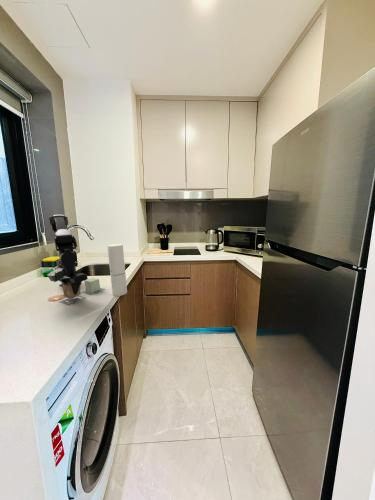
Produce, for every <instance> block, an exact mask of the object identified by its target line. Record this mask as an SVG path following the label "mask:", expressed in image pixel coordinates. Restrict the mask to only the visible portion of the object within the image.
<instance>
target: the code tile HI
mask: <svg viewBox="0 0 375 500" xmlns="http://www.w3.org/2000/svg"><path fill="white" fill-rule="evenodd" d="M105 290H106V289H105V288H101V287H100V290H99V291H96V292H94V293H89V292H86V289H85V290H83V291H80V293H81V294H85V295H89V296H92V295H94V294H98V293H100V292H103V291H105Z"/></svg>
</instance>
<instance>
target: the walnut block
mask: <svg viewBox="0 0 375 500" xmlns="http://www.w3.org/2000/svg"><path fill="white" fill-rule="evenodd" d="M80 287H81V286H80ZM80 287H79V290H78V292H77V294H76V295H74V293H73V289H72V286H71V284H69V283H66V284H63V287H62V290H63V295H64V297H66V299H67V298H70V299H71V298H73V297H76V296H81V295H82V293H80V292H81V288H80Z"/></svg>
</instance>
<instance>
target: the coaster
mask: <svg viewBox="0 0 375 500" xmlns="http://www.w3.org/2000/svg"><path fill="white" fill-rule="evenodd" d="M65 299H67V297H64V294H57V295H53V296H51V297H48V298H47V301H48V302H57V301H58V302H59V301H62V300H65Z"/></svg>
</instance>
